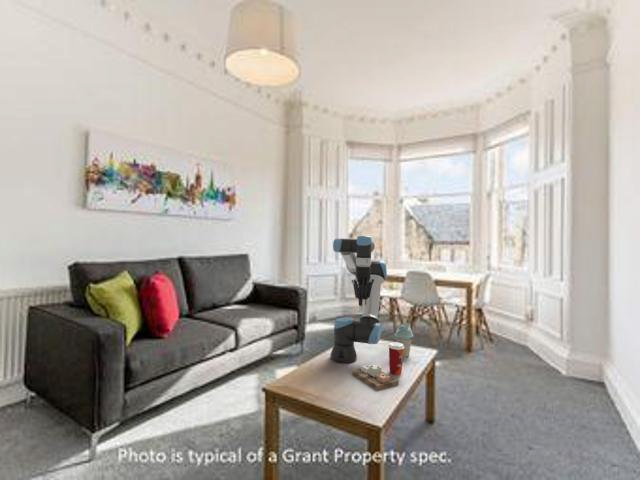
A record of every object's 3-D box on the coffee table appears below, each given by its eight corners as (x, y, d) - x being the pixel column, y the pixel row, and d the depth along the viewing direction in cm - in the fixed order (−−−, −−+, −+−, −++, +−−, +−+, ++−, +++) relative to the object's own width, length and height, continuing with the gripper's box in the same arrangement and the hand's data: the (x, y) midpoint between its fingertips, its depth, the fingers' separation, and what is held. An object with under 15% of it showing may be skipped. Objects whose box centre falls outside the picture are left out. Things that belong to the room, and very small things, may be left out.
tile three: (376, 382, 170) (376, 374, 170) (383, 381, 172) (383, 372, 172) (382, 386, 166) (382, 377, 166) (389, 384, 168) (389, 375, 168)
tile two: (368, 373, 175) (368, 365, 175) (375, 372, 177) (375, 364, 177) (374, 377, 171) (374, 368, 171) (381, 375, 173) (381, 367, 173)
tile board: (352, 374, 180) (352, 370, 180) (372, 369, 186) (372, 366, 186) (377, 390, 162) (377, 385, 162) (398, 384, 169) (398, 380, 169)
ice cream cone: (395, 351, 217) (396, 319, 217) (413, 353, 213) (414, 321, 213) (392, 356, 208) (393, 322, 207) (412, 359, 204) (413, 325, 204)
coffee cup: (403, 376, 179) (404, 347, 178) (387, 374, 180) (388, 345, 180) (403, 370, 187) (404, 342, 187) (387, 368, 189) (388, 341, 188)
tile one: (361, 373, 180) (361, 365, 180) (367, 372, 183) (368, 364, 183) (366, 376, 177) (366, 368, 177) (373, 375, 179) (373, 366, 179)
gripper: (357, 267, 172) (356, 314, 173) (378, 266, 179) (376, 312, 179) (348, 265, 179) (347, 311, 179) (369, 264, 185) (367, 309, 186)
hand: (362, 311), depth 179 cm, fingers closed
